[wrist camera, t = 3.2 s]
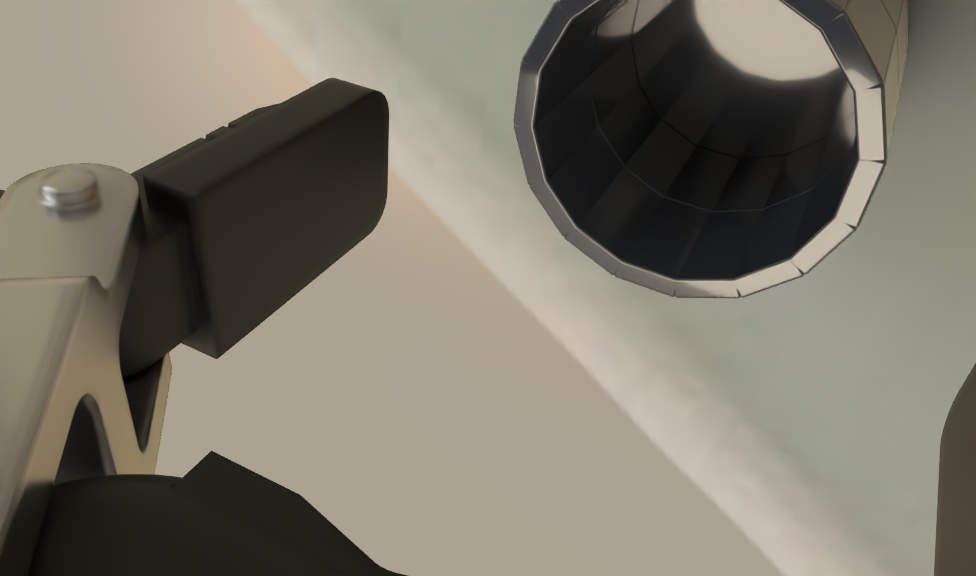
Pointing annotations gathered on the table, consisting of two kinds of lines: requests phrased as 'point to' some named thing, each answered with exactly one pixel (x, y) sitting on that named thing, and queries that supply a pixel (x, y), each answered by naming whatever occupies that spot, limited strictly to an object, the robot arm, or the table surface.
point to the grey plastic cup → (710, 133)
